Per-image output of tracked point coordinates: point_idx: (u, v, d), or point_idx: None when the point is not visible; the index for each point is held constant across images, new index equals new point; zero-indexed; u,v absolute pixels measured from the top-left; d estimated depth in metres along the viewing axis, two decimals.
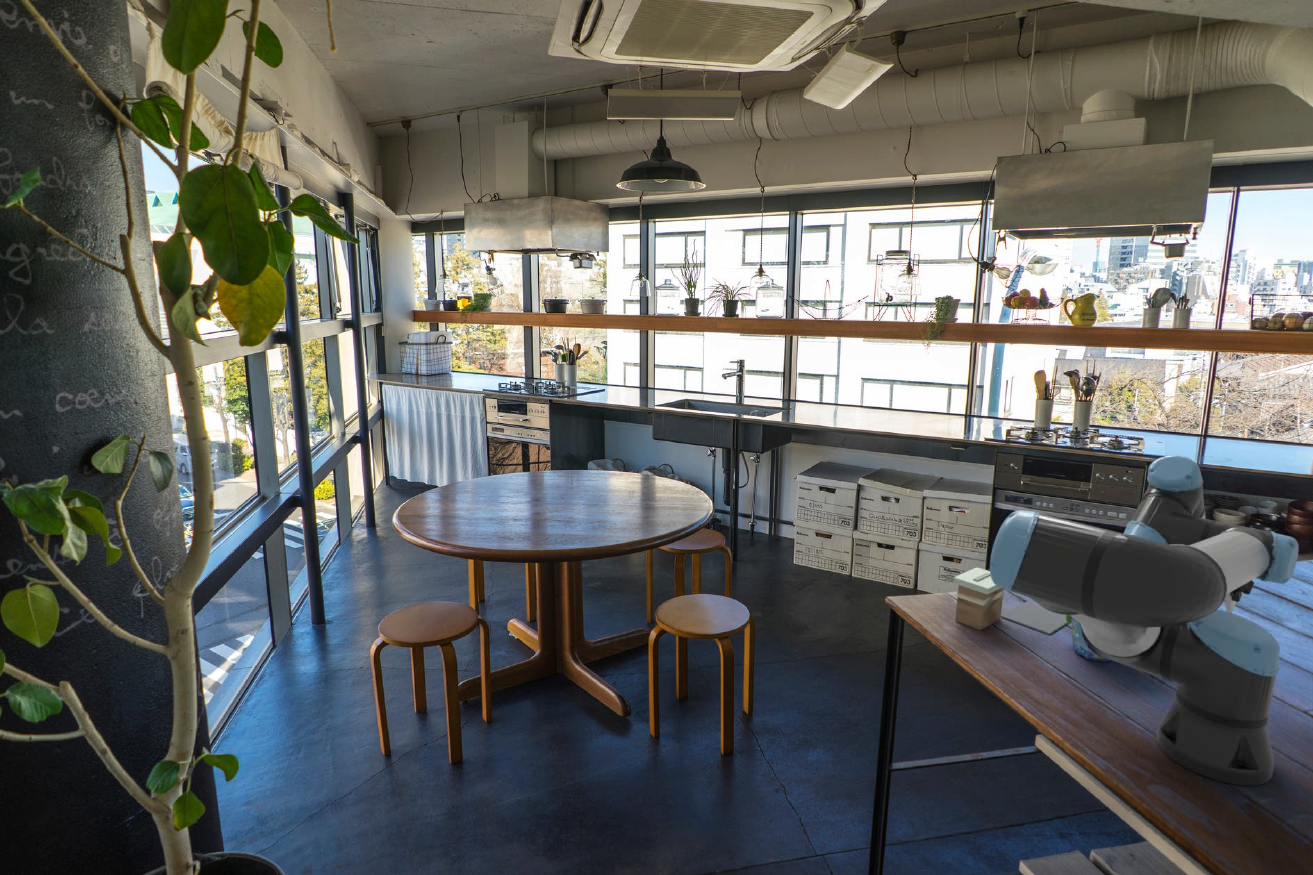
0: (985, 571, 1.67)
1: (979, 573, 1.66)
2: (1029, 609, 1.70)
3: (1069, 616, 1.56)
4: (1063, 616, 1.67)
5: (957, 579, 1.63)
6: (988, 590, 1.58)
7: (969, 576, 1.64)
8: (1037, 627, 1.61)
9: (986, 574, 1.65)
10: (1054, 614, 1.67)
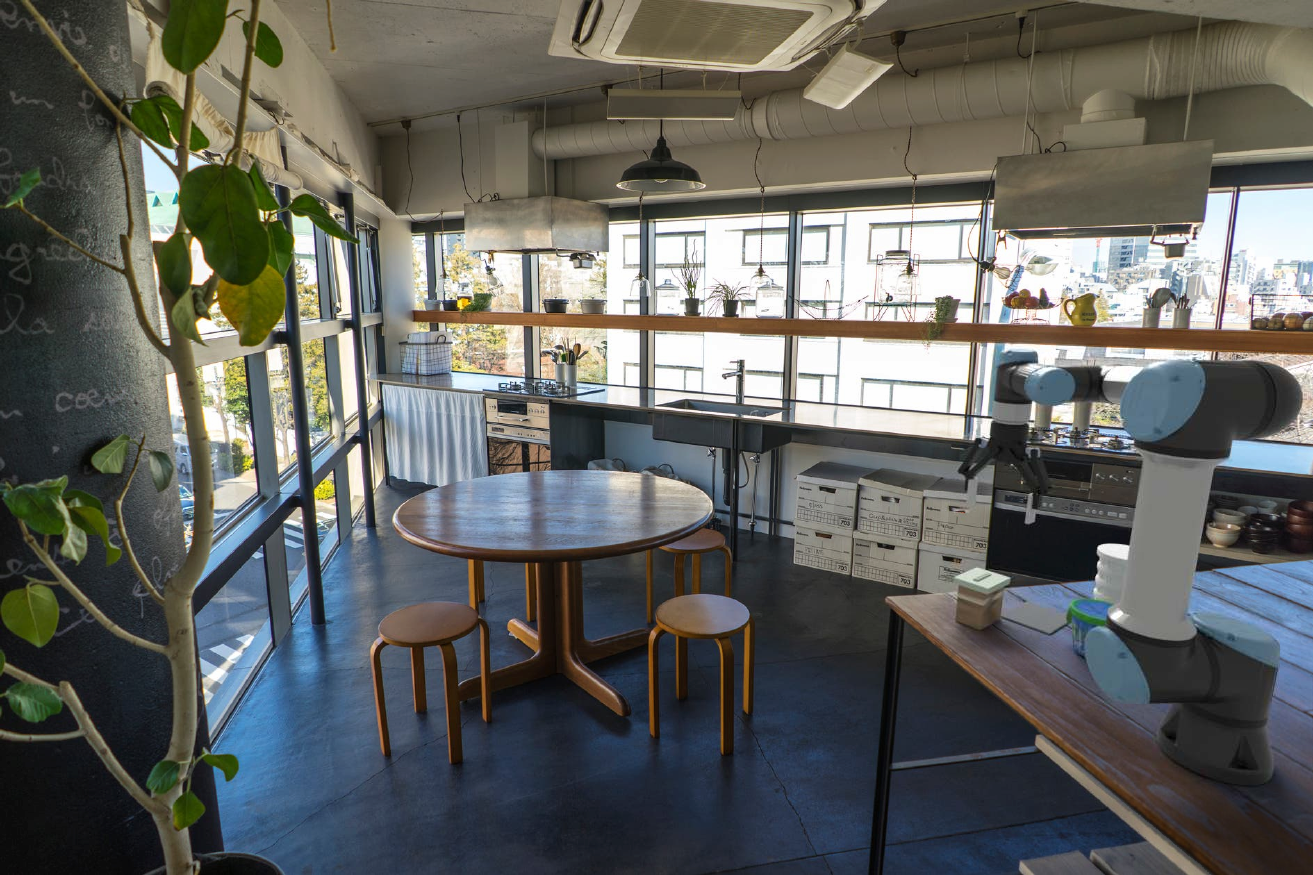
0: (985, 571, 1.67)
1: (979, 573, 1.66)
2: (1029, 609, 1.70)
3: (1069, 616, 1.56)
4: (1063, 616, 1.67)
5: (957, 579, 1.63)
6: (988, 590, 1.58)
7: (969, 576, 1.64)
8: (1037, 627, 1.61)
9: (986, 574, 1.65)
10: (1054, 614, 1.67)
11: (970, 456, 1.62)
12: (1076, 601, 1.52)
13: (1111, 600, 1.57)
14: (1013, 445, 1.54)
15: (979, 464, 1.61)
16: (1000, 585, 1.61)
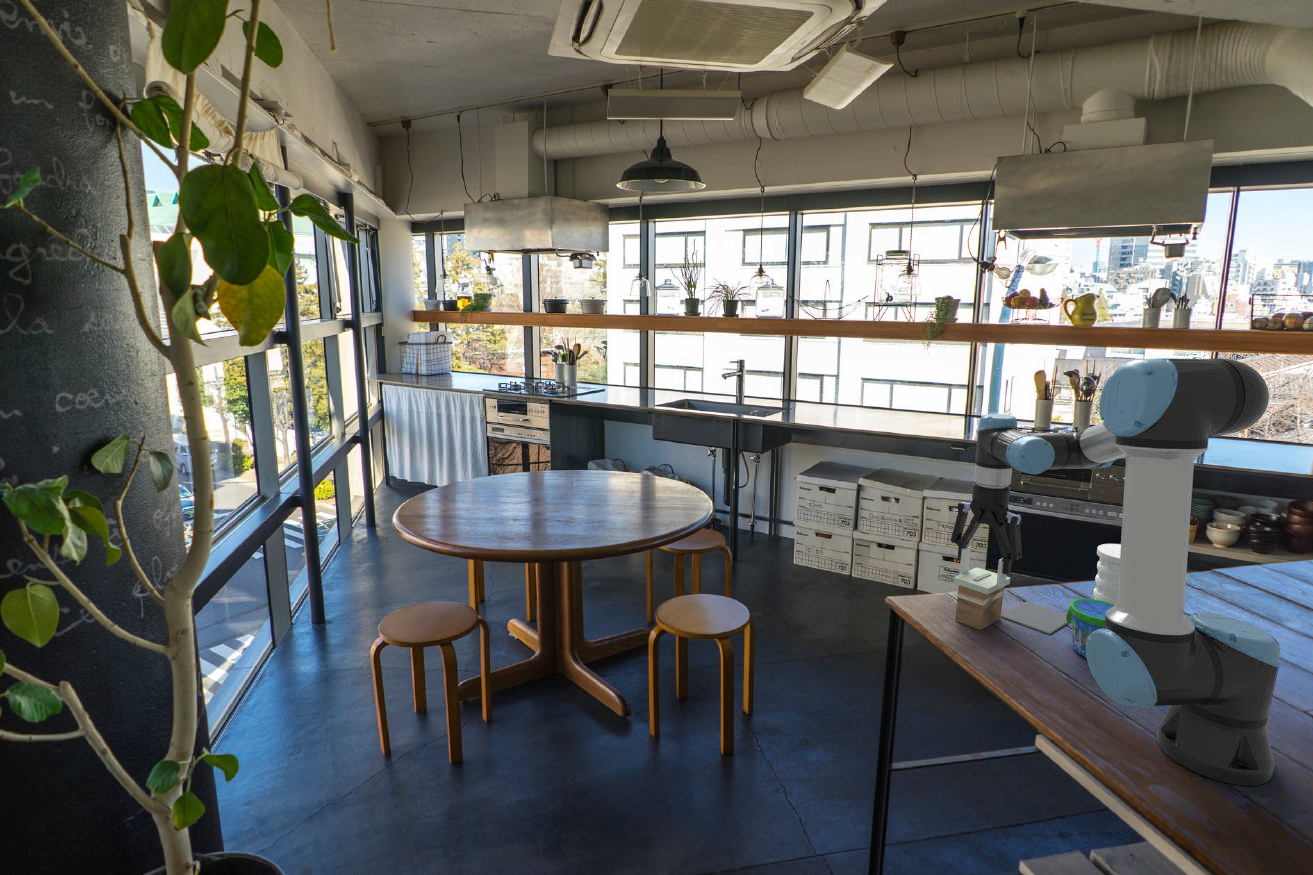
0: (985, 571, 1.67)
1: (979, 573, 1.66)
2: (1029, 609, 1.70)
3: (1069, 616, 1.56)
4: (1063, 616, 1.67)
5: (957, 579, 1.63)
6: (988, 590, 1.58)
7: (969, 576, 1.64)
8: (1037, 627, 1.61)
9: (986, 574, 1.65)
10: (1054, 614, 1.67)
11: (958, 523, 1.65)
12: (1076, 601, 1.52)
13: (1111, 600, 1.57)
14: (996, 507, 1.58)
15: (968, 530, 1.64)
16: None
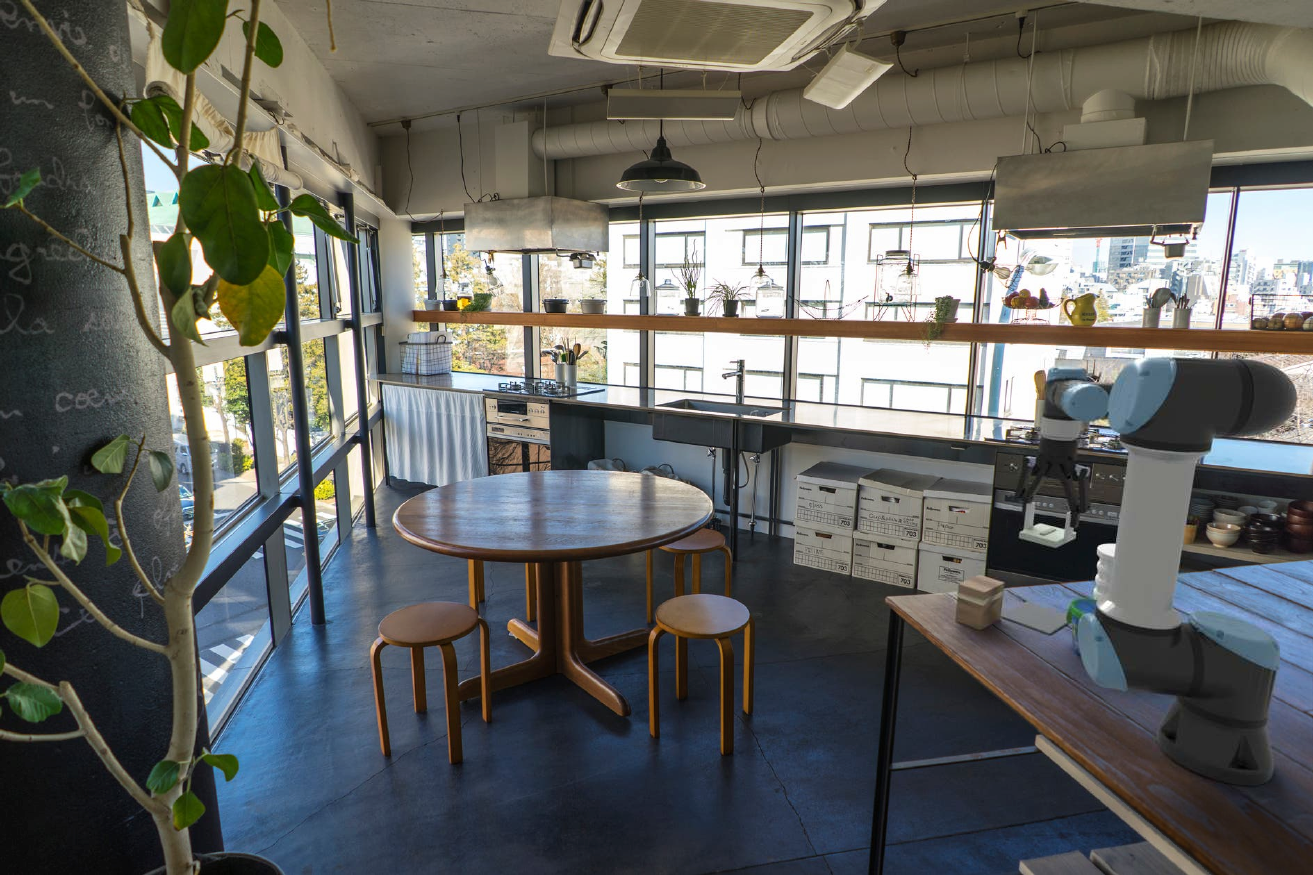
0: (1049, 527, 1.66)
1: (1044, 528, 1.65)
2: (1029, 609, 1.70)
3: (1069, 616, 1.56)
4: (1063, 616, 1.67)
5: (1023, 534, 1.62)
6: (1057, 543, 1.57)
7: (1034, 531, 1.63)
8: (1037, 627, 1.61)
9: (1051, 529, 1.64)
10: (1054, 614, 1.67)
11: (1023, 477, 1.64)
12: (1076, 601, 1.52)
13: None
14: (1064, 459, 1.57)
15: (1033, 485, 1.63)
16: None
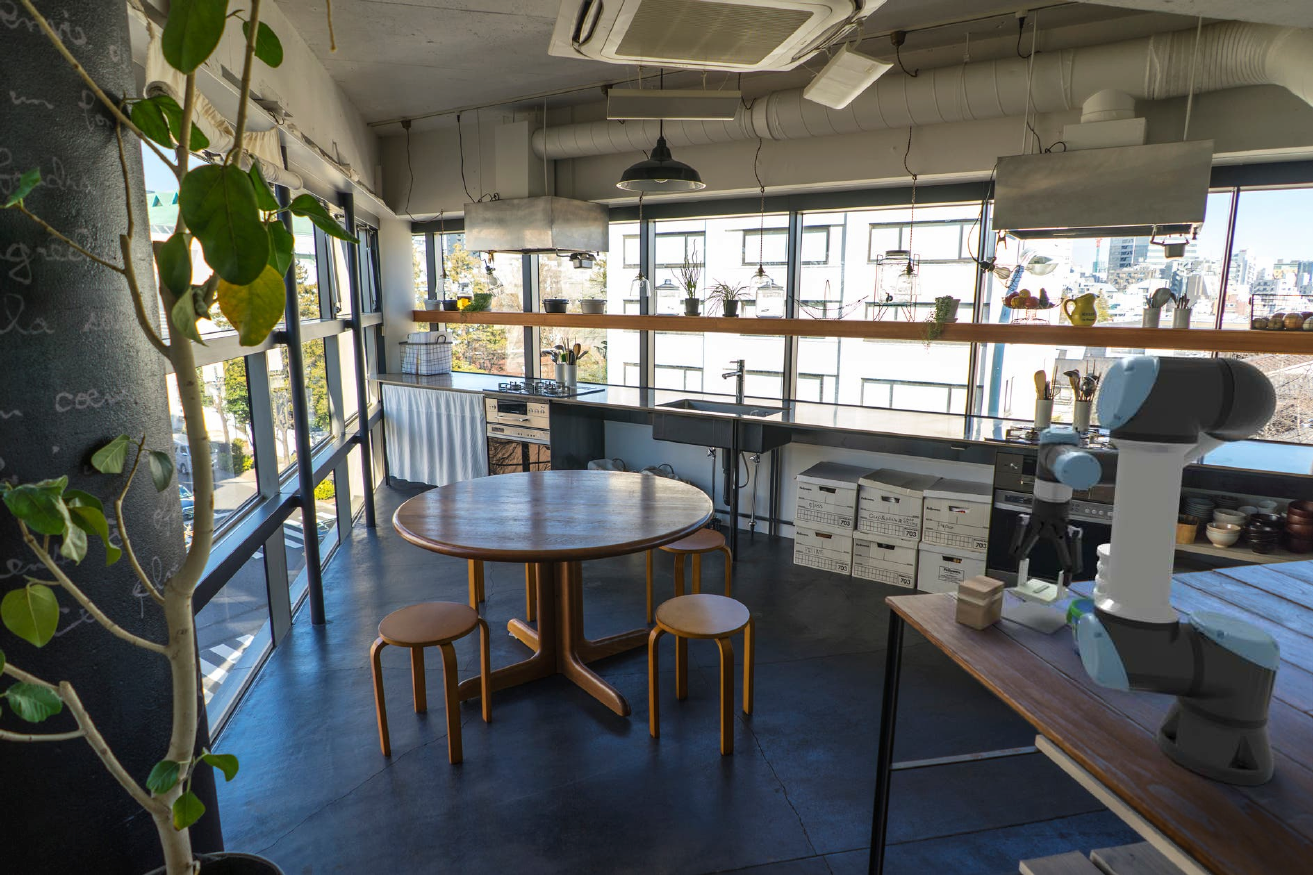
0: (1043, 583, 1.69)
1: (1037, 584, 1.68)
2: (1029, 609, 1.70)
3: (1069, 616, 1.56)
4: (1063, 616, 1.67)
5: (1017, 591, 1.65)
6: (1049, 602, 1.60)
7: (1028, 588, 1.66)
8: (1037, 627, 1.61)
9: (1045, 585, 1.67)
10: (1054, 614, 1.67)
11: (1016, 535, 1.67)
12: (1076, 601, 1.52)
13: None
14: (1057, 520, 1.59)
15: (1027, 543, 1.65)
16: None
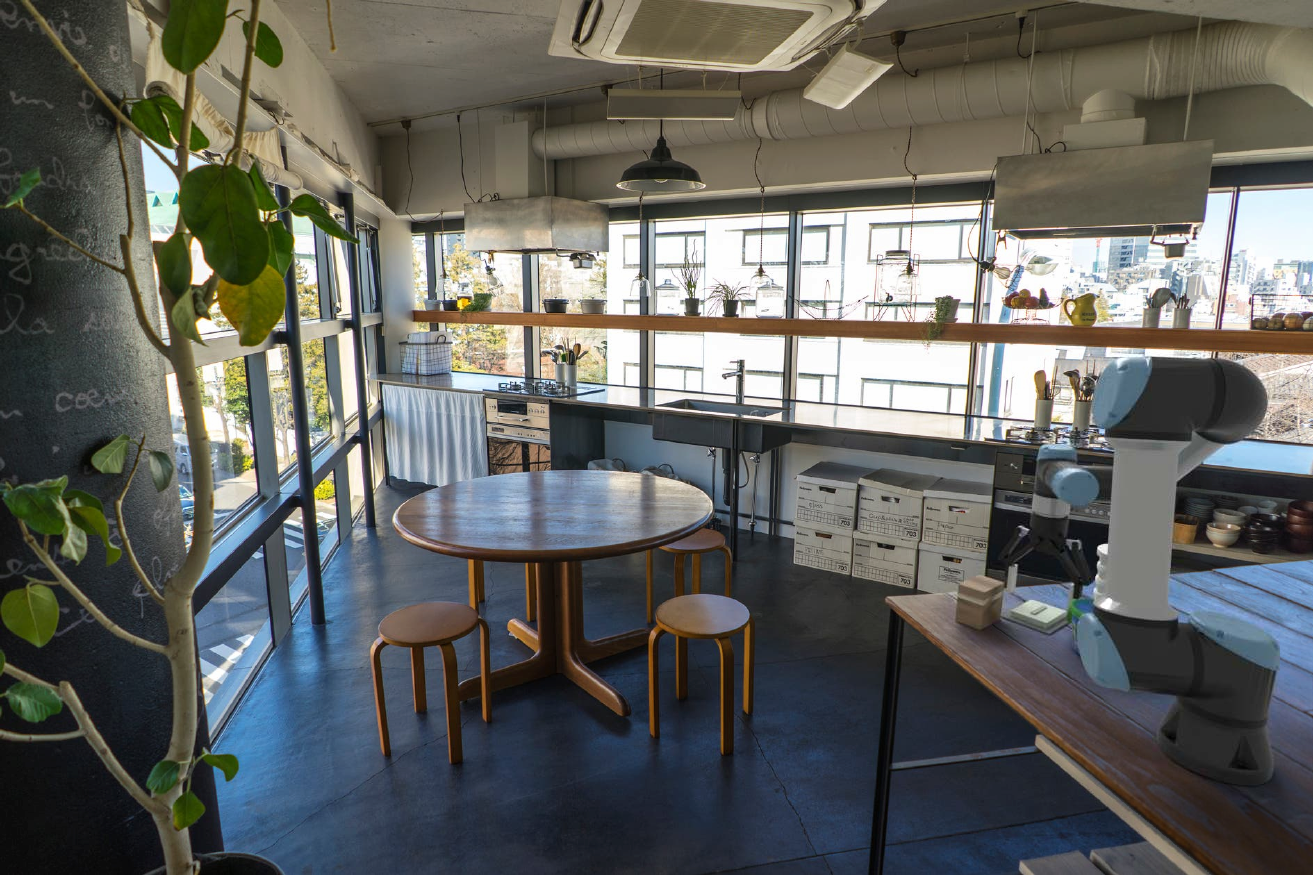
0: (1040, 604, 1.70)
1: (1035, 605, 1.69)
2: None
3: (1069, 616, 1.56)
4: None
5: (1014, 612, 1.66)
6: (1047, 624, 1.61)
7: (1025, 609, 1.67)
8: (1037, 627, 1.61)
9: (1042, 607, 1.68)
10: None
11: (1010, 544, 1.68)
12: (1076, 601, 1.52)
13: None
14: (1054, 537, 1.60)
15: (1019, 552, 1.67)
16: (1057, 619, 1.64)
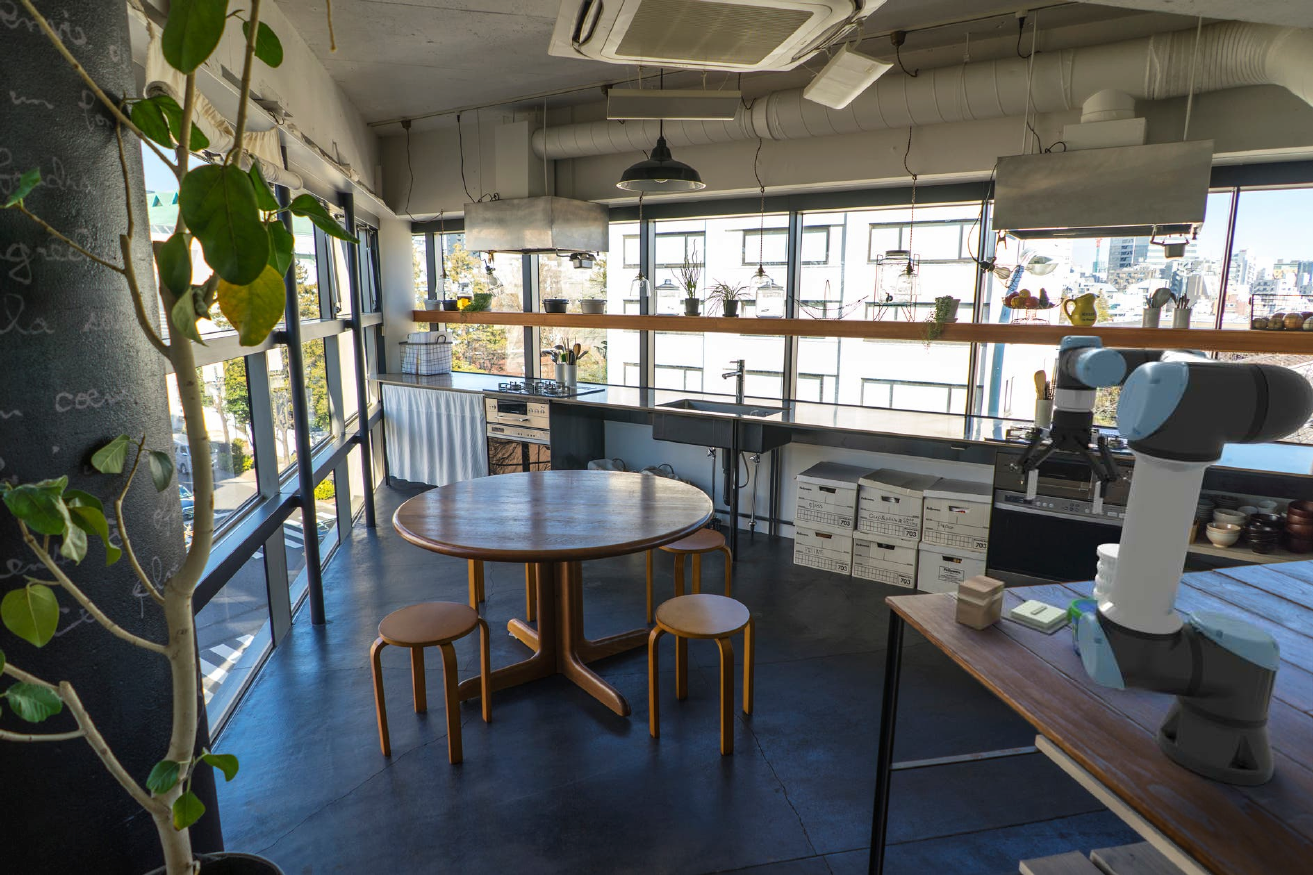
0: (1040, 604, 1.70)
1: (1035, 605, 1.69)
2: None
3: (1069, 616, 1.56)
4: None
5: (1014, 612, 1.66)
6: (1047, 624, 1.61)
7: (1025, 609, 1.67)
8: (1037, 627, 1.61)
9: (1042, 607, 1.68)
10: None
11: (1030, 447, 1.60)
12: (1076, 601, 1.52)
13: None
14: (1078, 433, 1.52)
15: (1040, 455, 1.58)
16: (1057, 619, 1.64)
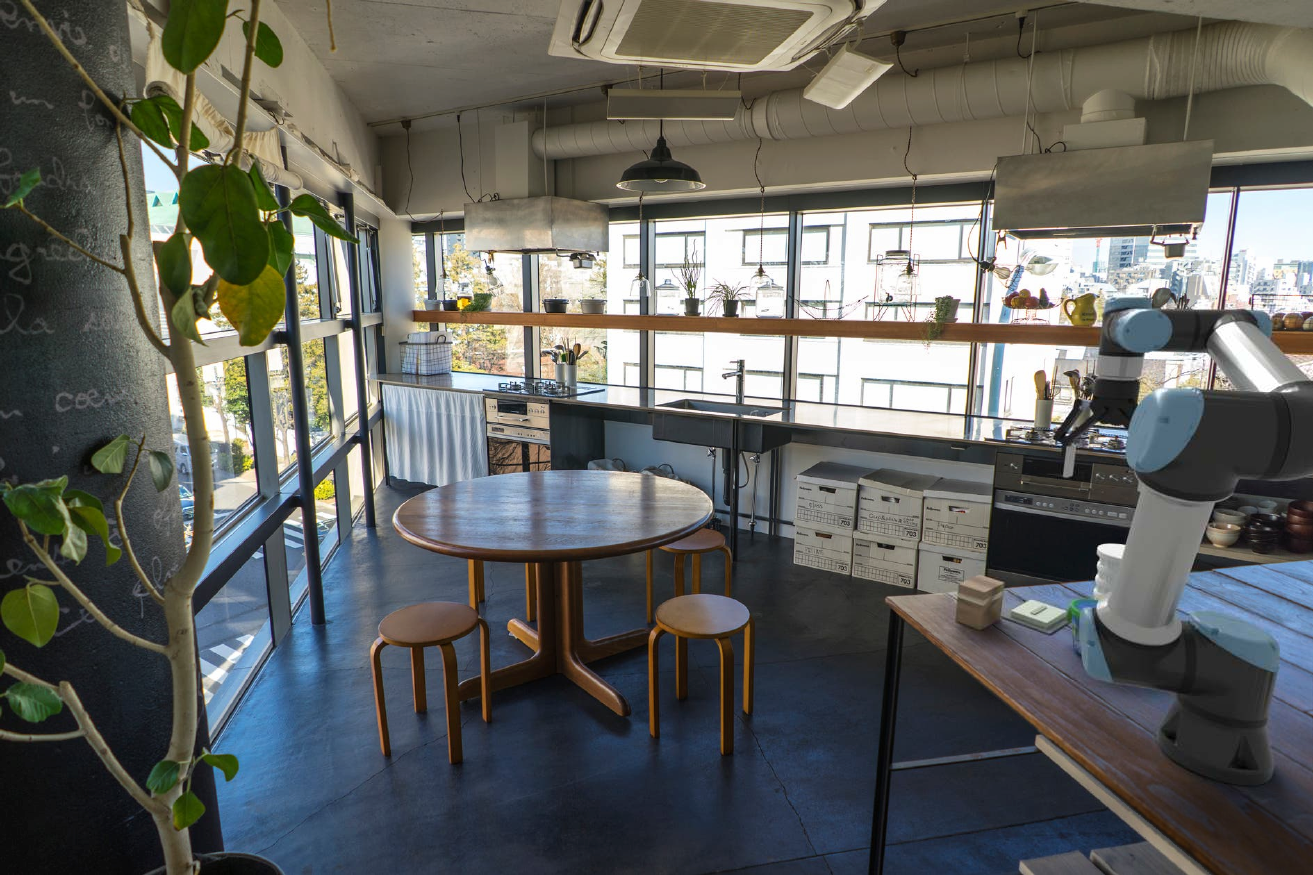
0: (1040, 604, 1.70)
1: (1035, 605, 1.69)
2: None
3: (1069, 616, 1.56)
4: None
5: (1014, 612, 1.66)
6: (1047, 624, 1.61)
7: (1025, 609, 1.67)
8: (1037, 627, 1.61)
9: (1042, 607, 1.68)
10: None
11: (1068, 420, 1.46)
12: (1076, 601, 1.52)
13: None
14: (1122, 404, 1.38)
15: (1080, 428, 1.45)
16: (1057, 619, 1.64)
